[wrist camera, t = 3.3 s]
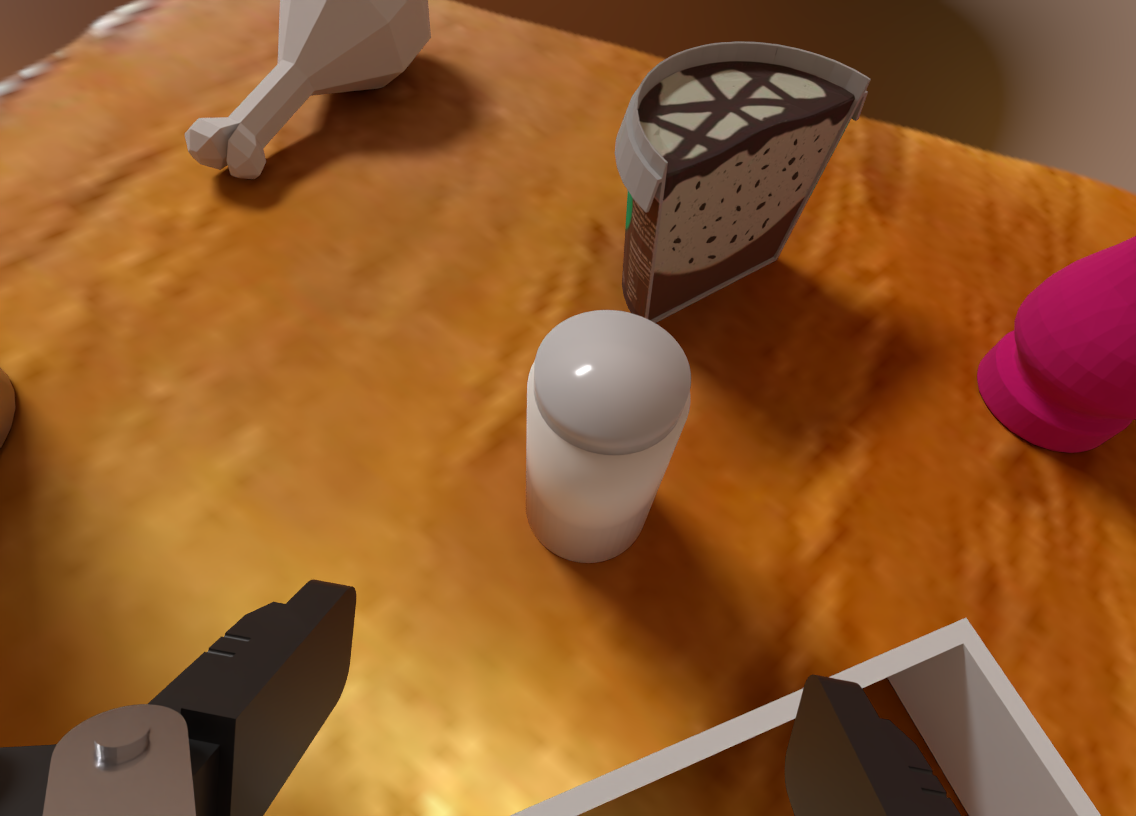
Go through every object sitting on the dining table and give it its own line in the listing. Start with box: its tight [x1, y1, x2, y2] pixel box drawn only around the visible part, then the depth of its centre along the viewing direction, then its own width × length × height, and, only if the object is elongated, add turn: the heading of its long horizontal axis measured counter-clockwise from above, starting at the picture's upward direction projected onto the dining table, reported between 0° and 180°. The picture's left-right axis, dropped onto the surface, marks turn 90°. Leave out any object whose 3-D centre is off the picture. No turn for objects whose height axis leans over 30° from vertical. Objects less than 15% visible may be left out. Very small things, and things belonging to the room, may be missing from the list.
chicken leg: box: [185, 0, 431, 179], centre depth 38 cm, size 8×18×8 cm, turn 153°
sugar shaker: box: [526, 310, 691, 563], centre depth 23 cm, size 5×5×10 cm
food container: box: [615, 42, 870, 323], centre depth 31 cm, size 12×6×10 cm, turn 124°
